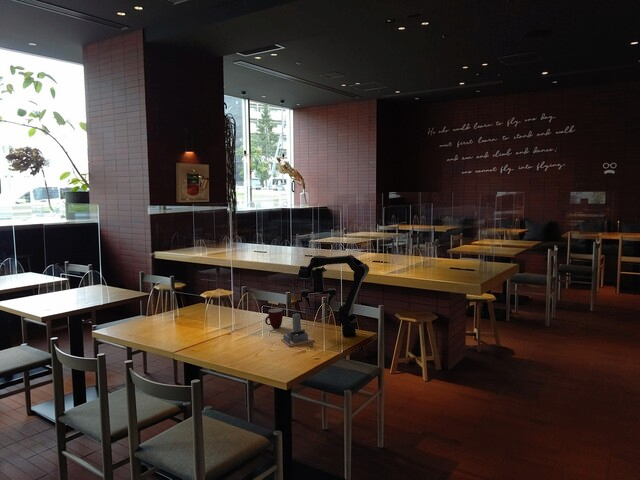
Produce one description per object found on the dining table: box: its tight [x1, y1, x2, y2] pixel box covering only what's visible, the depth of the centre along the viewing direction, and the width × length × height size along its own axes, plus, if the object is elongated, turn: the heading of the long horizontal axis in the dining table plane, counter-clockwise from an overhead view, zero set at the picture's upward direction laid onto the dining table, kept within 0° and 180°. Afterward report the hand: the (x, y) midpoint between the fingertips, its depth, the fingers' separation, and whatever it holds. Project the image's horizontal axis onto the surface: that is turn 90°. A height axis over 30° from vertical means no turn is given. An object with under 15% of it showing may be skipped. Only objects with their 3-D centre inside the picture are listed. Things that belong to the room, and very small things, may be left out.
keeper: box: [280, 333, 315, 348], centre depth 245 cm, size 14×10×4 cm
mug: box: [264, 307, 284, 330], centre depth 267 cm, size 10×8×10 cm
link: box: [286, 313, 309, 343], centre depth 244 cm, size 8×8×13 cm
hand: (319, 308), depth 257 cm, fingers open, 9 cm apart
